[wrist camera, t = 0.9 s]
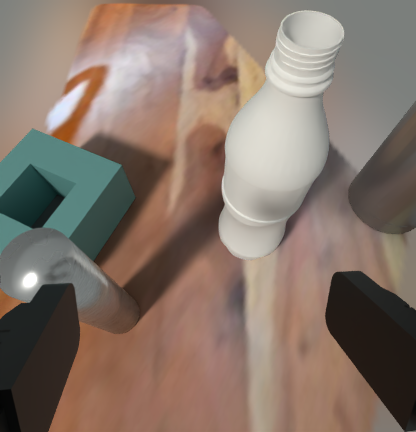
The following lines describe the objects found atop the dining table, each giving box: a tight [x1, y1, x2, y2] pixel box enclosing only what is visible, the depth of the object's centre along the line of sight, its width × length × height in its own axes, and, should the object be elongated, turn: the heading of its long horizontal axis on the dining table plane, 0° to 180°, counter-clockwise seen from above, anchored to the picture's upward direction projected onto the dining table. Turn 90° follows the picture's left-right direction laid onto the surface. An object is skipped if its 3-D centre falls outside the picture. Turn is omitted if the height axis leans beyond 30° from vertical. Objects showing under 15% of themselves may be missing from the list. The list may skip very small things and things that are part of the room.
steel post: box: [0, 228, 140, 334], centre depth 24 cm, size 4×4×18 cm
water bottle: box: [219, 10, 344, 260], centre depth 25 cm, size 7×7×25 cm
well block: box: [0, 129, 136, 261], centre depth 34 cm, size 14×12×7 cm
